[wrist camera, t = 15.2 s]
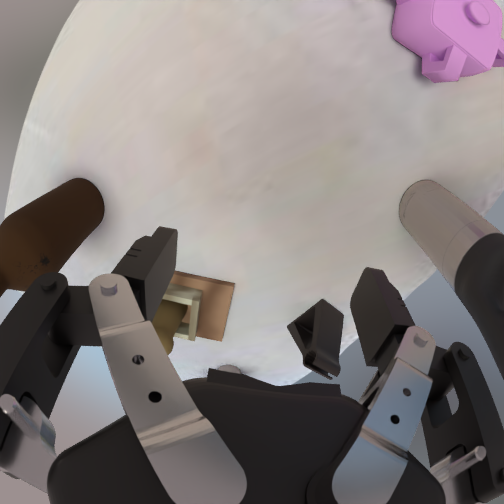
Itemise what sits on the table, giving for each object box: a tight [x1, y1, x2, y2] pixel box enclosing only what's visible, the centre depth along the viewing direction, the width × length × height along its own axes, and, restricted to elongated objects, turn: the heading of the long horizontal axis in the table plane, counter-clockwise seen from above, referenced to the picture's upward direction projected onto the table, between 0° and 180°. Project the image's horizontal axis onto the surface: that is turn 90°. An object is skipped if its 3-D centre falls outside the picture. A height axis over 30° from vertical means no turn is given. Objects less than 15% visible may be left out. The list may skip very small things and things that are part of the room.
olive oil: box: [0, 178, 104, 297], centre depth 31 cm, size 11×11×25 cm
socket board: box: [162, 271, 234, 342], centre depth 49 cm, size 20×14×4 cm
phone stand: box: [287, 299, 344, 380], centre depth 47 cm, size 9×6×12 cm, turn 139°
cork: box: [152, 299, 188, 355], centre depth 45 cm, size 6×6×11 cm
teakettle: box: [392, 0, 504, 83], centre depth 19 cm, size 17×17×12 cm
